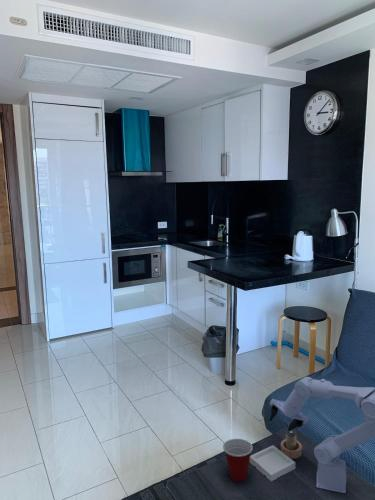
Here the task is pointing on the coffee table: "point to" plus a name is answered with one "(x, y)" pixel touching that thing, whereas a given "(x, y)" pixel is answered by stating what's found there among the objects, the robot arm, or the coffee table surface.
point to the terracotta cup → (291, 453)
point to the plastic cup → (238, 458)
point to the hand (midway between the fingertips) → (279, 423)
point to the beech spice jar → (291, 439)
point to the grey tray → (272, 462)
